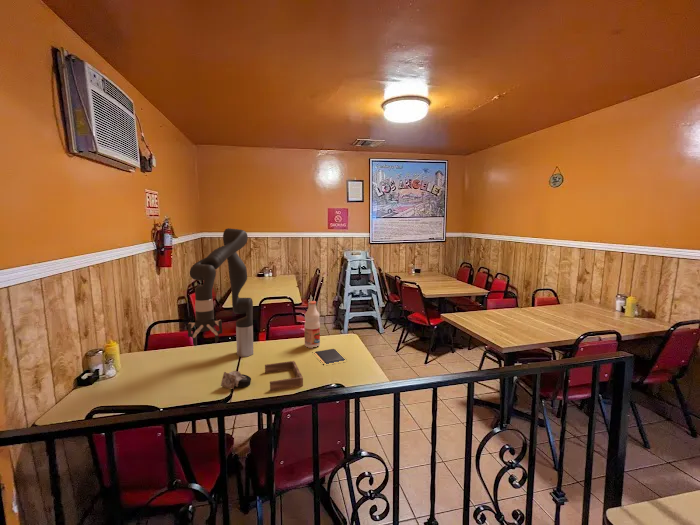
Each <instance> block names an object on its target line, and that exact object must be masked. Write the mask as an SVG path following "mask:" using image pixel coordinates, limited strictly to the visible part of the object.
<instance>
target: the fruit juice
mask: <svg viewBox="0 0 700 525" xmlns="http://www.w3.org/2000/svg"><path fill="white" fill-rule="evenodd" d="M307 302H308V303H307V304H308V307H307V310H306V312H305V314H304V320H305V322H304V347H305V346H306V347H305V348H307V347H308V348H307V349H314V348H313V347H317V346H319V347H320V346H321V332H320V331H321V323H320V316H321V315H320V312H319V311H318V310H317V306H316V305H317V301H316V300H309V301H307ZM317 348H318V347H317Z"/></svg>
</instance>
